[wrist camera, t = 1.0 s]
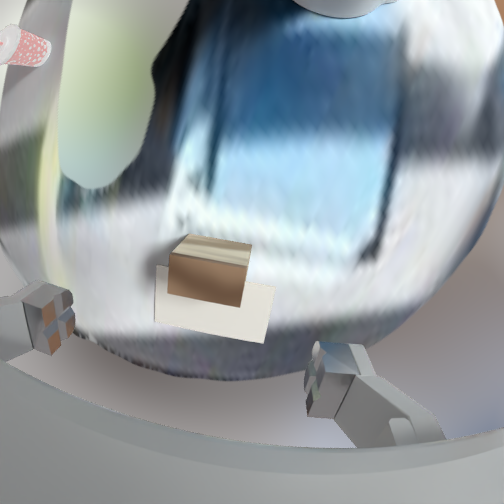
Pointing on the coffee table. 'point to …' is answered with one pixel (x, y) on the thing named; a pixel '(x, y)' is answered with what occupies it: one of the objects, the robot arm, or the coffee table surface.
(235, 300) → the block
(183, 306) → the pad
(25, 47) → the beverage cup
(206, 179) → the coffee table surface
